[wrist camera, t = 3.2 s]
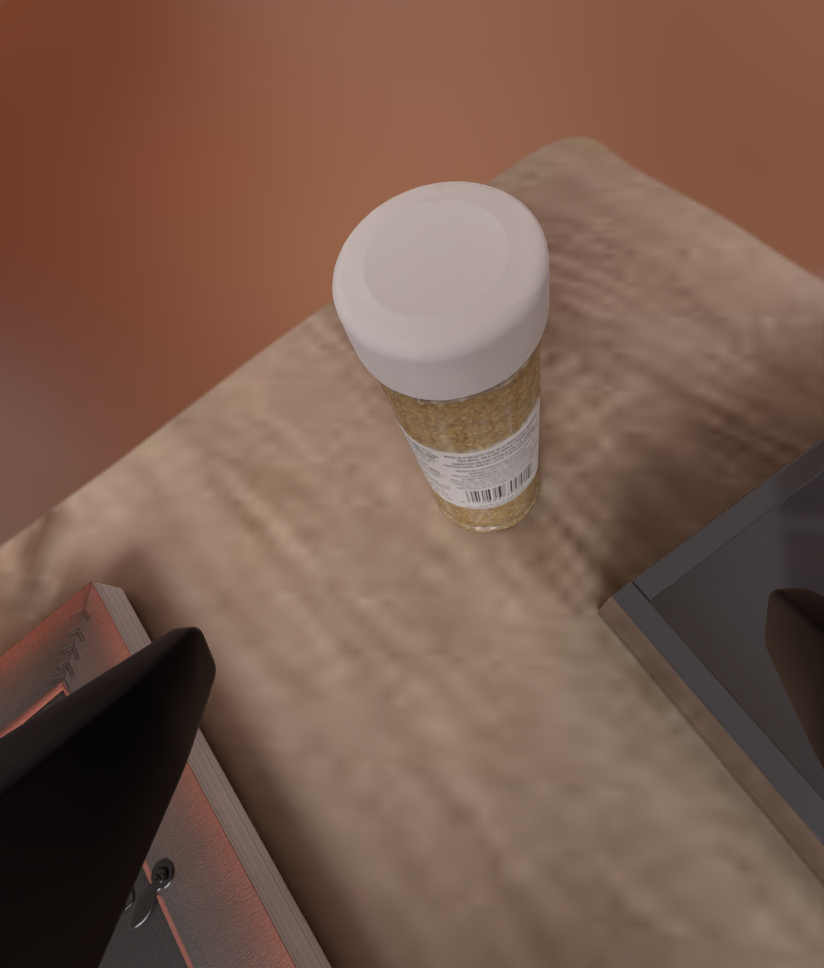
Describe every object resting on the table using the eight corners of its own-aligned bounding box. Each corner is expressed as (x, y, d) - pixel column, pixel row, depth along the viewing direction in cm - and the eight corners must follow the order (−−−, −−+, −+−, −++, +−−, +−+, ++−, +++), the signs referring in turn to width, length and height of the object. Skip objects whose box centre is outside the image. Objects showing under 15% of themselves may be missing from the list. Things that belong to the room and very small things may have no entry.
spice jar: (530, 429, 24) (531, 147, 11) (549, 529, 22) (572, 326, 10) (427, 446, 24) (323, 199, 12) (438, 543, 23) (328, 373, 10)
